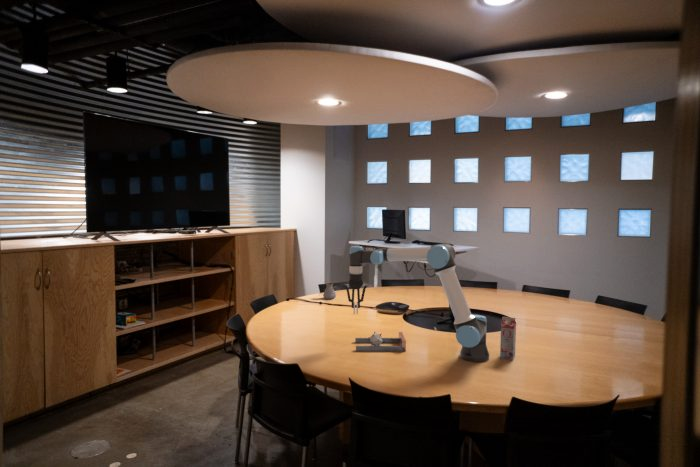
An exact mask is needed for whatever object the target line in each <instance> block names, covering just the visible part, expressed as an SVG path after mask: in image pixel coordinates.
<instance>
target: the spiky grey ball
mask: <svg viewBox="0 0 700 467" xmlns="http://www.w3.org/2000/svg"><path fill="white" fill-rule="evenodd" d="M367 338H370V341H371V343H370V344H371V345H370V346H381V345H382V344H383V343H382V342H384V341H383V339H382V338H383V336H382V333H376V331H374V333H372V335H370V337H367Z"/></svg>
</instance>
